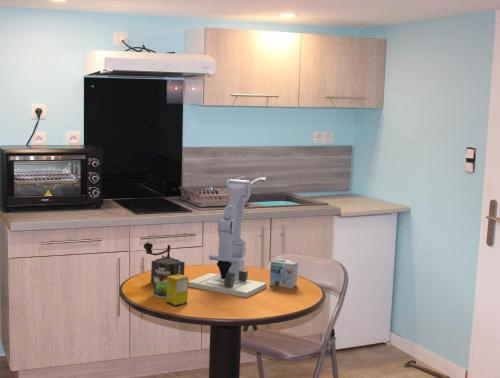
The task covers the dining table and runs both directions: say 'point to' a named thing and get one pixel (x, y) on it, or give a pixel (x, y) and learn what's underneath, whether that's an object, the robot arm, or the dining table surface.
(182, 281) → the supplement box
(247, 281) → the breaker board
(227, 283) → the handle
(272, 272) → the light bulb box
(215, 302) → the dining table surface
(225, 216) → the robot arm
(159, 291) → the coffee can
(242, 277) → the handle
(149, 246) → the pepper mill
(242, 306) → the dining table surface
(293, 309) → the dining table surface
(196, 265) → the dining table surface
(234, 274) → the dark gray block
